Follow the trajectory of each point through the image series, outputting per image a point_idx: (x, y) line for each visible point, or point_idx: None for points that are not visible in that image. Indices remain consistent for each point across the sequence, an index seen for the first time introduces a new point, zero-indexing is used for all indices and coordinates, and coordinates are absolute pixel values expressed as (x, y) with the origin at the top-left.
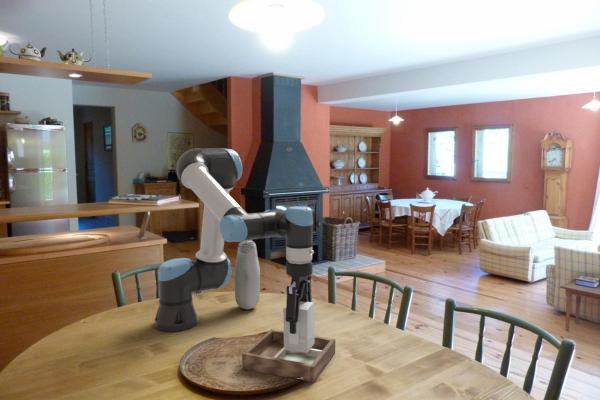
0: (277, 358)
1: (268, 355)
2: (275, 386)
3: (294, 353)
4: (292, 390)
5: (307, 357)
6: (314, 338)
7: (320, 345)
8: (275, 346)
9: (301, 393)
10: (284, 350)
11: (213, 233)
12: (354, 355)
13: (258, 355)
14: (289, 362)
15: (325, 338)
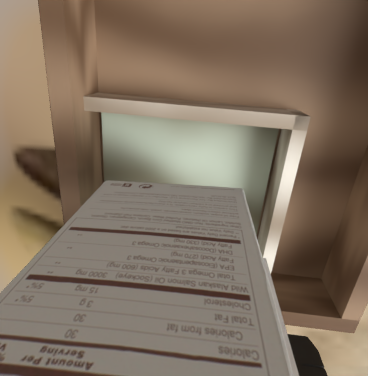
0: (72, 148)
1: (237, 29)
2: (17, 153)
3: (277, 155)
4: (24, 211)
5: (251, 214)
6: (365, 252)
7: (342, 258)
8: (362, 24)
9: (23, 238)
10: (242, 124)
11: None
12: (318, 337)
13: (57, 30)
14: (62, 210)
15: (359, 299)
